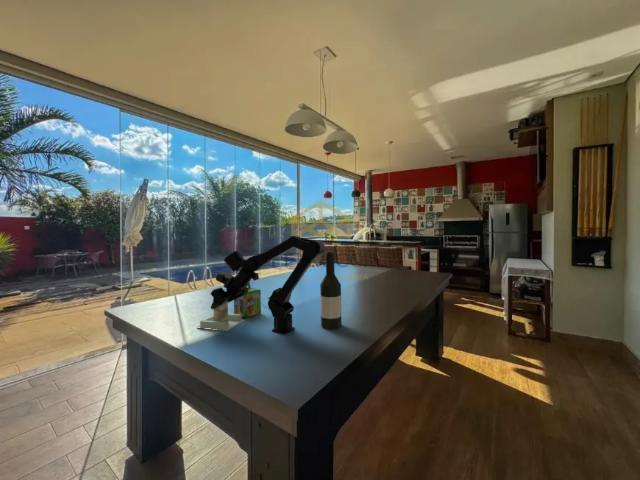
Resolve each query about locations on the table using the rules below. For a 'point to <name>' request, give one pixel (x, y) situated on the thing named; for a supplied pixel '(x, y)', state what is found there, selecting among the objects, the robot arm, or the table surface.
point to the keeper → (232, 322)
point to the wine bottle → (330, 296)
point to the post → (221, 313)
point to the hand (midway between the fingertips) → (218, 305)
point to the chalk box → (248, 303)
